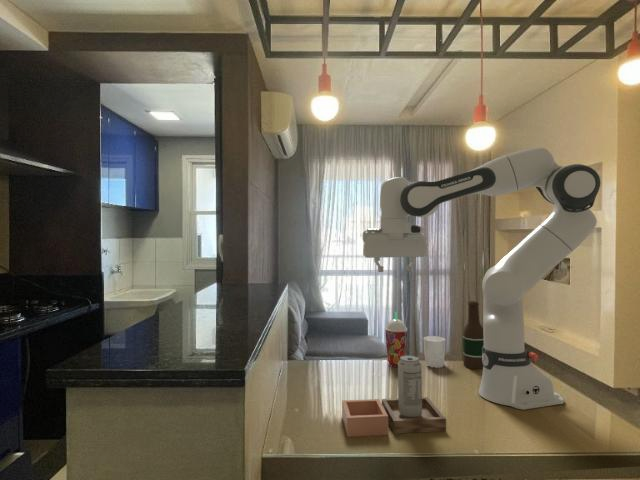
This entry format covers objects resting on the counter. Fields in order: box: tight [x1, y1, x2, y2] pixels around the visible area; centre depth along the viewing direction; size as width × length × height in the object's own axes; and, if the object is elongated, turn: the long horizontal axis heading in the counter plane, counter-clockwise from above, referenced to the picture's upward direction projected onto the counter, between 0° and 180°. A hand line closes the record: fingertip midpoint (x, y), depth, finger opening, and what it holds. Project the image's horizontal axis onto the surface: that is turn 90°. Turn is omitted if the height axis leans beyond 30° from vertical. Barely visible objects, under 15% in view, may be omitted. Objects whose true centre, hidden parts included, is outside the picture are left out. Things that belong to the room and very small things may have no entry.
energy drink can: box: [397, 354, 423, 419], centre depth 99 cm, size 6×6×15 cm
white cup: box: [423, 335, 446, 369], centre depth 142 cm, size 8×8×10 cm
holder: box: [341, 398, 389, 438], centre depth 95 cm, size 10×10×4 cm
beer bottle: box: [462, 300, 484, 370], centre depth 140 cm, size 8×8×24 cm
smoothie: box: [384, 311, 408, 367], centre depth 143 cm, size 8×8×20 cm
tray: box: [381, 396, 447, 434], centre depth 98 cm, size 13×13×3 cm
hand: (395, 271), depth 121 cm, fingers open, 8 cm apart
